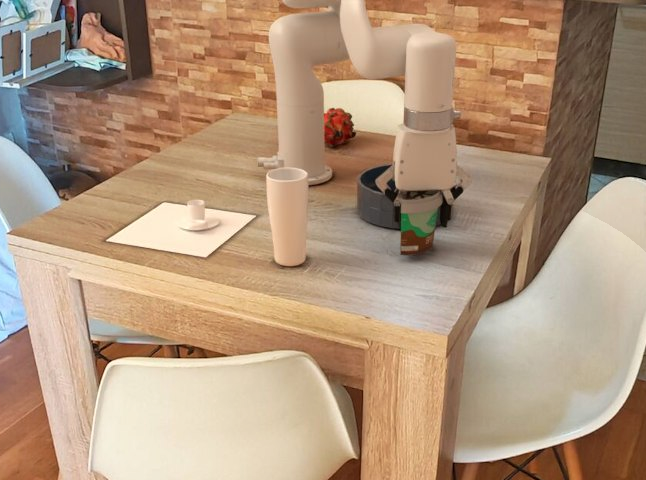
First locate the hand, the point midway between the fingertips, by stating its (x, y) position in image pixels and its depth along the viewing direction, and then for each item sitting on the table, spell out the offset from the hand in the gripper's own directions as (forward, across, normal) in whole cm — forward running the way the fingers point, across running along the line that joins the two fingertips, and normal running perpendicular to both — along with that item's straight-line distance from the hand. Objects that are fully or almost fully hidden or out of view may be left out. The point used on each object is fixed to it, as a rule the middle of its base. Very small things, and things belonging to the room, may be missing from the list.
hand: (421, 224), depth 139 cm
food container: (+4, 0, 0) cm, 4 cm away
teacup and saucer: (+5, +42, -14) cm, 44 cm away
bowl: (+5, 0, -18) cm, 19 cm away
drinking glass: (+5, +22, +2) cm, 23 cm away
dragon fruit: (+5, +10, -62) cm, 63 cm away
